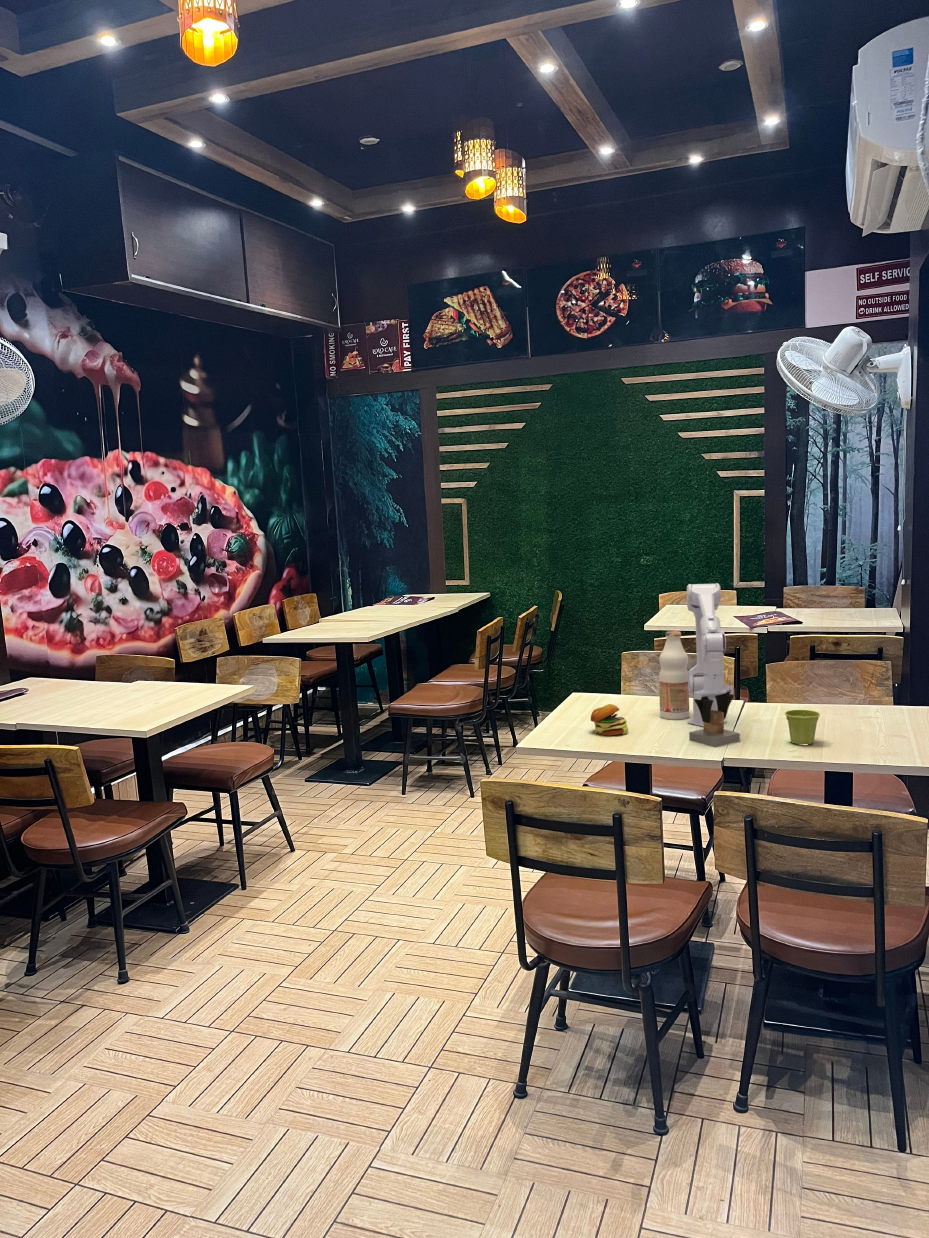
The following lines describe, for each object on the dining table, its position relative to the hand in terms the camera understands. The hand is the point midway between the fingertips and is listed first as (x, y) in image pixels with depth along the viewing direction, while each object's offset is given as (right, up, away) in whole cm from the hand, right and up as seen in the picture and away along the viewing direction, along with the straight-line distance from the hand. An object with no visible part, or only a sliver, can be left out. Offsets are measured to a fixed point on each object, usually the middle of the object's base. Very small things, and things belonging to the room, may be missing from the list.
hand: (714, 720), depth 260 cm
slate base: (0, -7, +1) cm, 7 cm away
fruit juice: (-4, -3, +33) cm, 33 cm away
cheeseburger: (-28, -6, +15) cm, 32 cm away
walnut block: (0, -4, +1) cm, 4 cm away
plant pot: (+24, -6, -6) cm, 25 cm away
